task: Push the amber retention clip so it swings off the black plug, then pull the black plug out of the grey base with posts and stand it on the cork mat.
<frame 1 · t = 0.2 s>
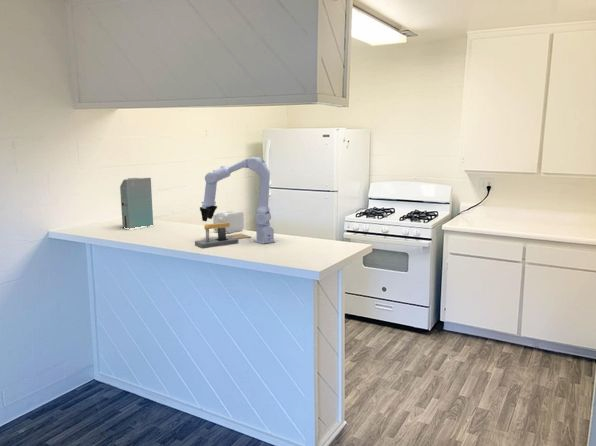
hand: (207, 219, 262), 10 cm above the countertop, tool pointing down, fingers open, 7 cm apart
device: (138, 227, 299), on the countertop
clip: (216, 225, 249), point 9 cm above the countertop, hinge at 0.0°
plug: (222, 243, 253), on the countertop
cork mat: (237, 237, 269), on the countertop
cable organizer: (228, 231, 285), on the countertop
grey base with posts: (216, 244, 251), on the countertop
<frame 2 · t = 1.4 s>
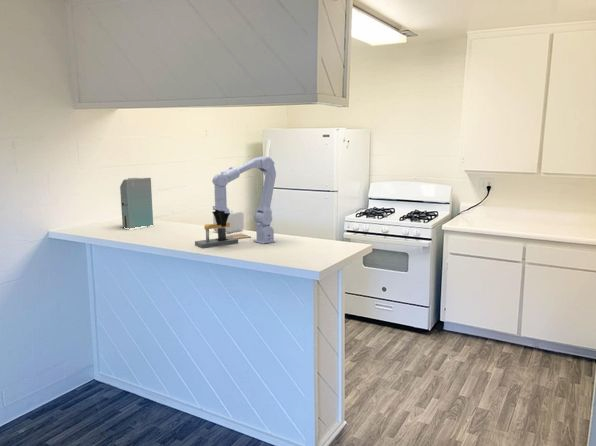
hand: (221, 225, 244), 10 cm above the countertop, tool pointing down, fingers open, 4 cm apart
clip: (217, 225, 249), point 9 cm above the countertop, hinge at -1.3°
everything else where it was.
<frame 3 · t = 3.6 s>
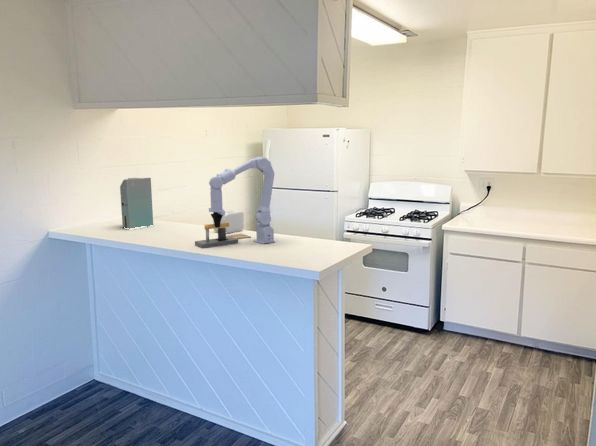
hand: (217, 227, 248), 9 cm above the countertop, tool pointing down, fingers closed, pressing on clip
clip: (216, 225, 250), point 9 cm above the countertop, hinge at 2.0°, touching gripper
everything else where it was.
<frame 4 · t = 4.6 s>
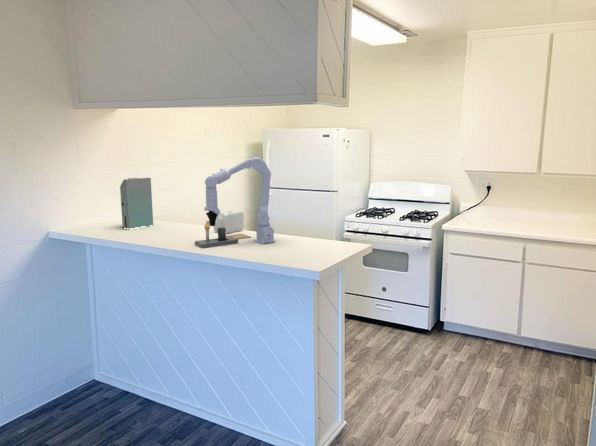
hand: (212, 225, 253), 9 cm above the countertop, tool pointing down, fingers closed, pressing on clip
clip: (207, 225, 252), point 9 cm above the countertop, hinge at 62.4°, touching gripper
everything else where it was.
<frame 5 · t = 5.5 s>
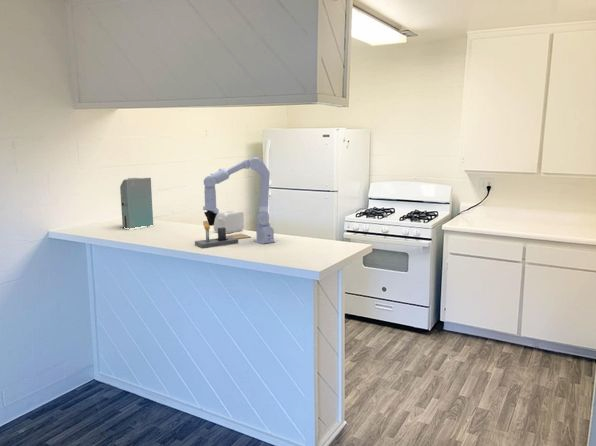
hand: (211, 225, 254), 9 cm above the countertop, tool pointing down, fingers closed
clip: (206, 225, 252), point 9 cm above the countertop, hinge at 70.2°
everything else where it was.
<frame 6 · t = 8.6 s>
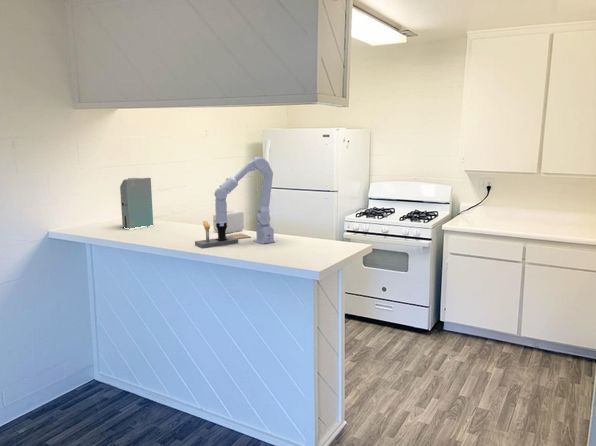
hand: (221, 237, 252), 3 cm above the countertop, tool pointing down, fingers closed on plug, 4 cm apart
plug: (222, 243, 253), on the countertop, touching gripper
everything else where it was.
when the fingers open (5 cm above the countertop, at t = 12.5 s): plug drops 1 cm, resting on cork mat.
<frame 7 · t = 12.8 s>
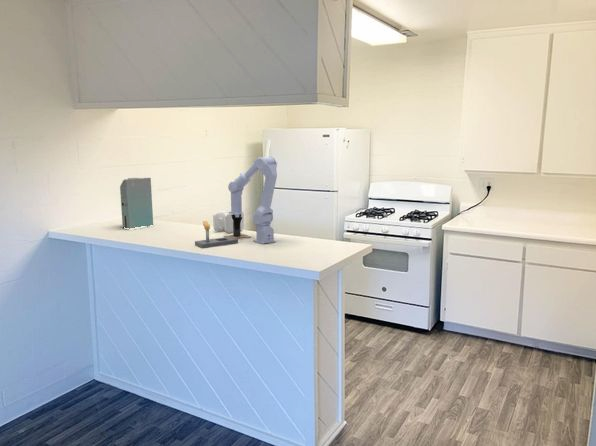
hand: (236, 228, 268), 5 cm above the countertop, tool pointing down, fingers open, 6 cm apart
plug: (236, 236, 268), point 1 cm above the countertop, touching cork mat
everything else where it was.
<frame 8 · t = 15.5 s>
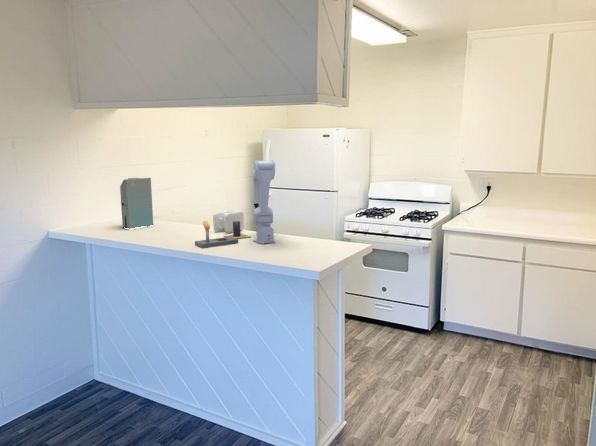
hand: (259, 217, 270), 10 cm above the countertop, tool pointing down, fingers open, 7 cm apart
nothing on the countertop moved.
at the end: clip at +70° (first picture: +0°); plug inside the target area on the cork mat (0.1 cm from its centre), point 0.6 cm above the cork mat's base; plug tilted 1° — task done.
